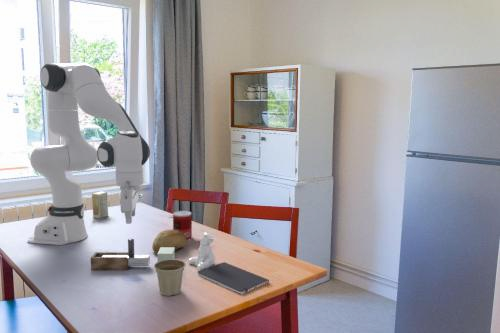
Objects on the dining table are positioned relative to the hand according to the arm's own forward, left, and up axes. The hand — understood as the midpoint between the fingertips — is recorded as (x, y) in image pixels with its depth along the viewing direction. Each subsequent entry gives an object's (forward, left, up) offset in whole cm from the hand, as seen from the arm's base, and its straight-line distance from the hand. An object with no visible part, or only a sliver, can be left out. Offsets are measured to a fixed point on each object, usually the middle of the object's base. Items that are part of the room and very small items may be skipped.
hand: (130, 219), depth 145 cm
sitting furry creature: (+25, +2, -18) cm, 30 cm away
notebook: (+35, -9, -18) cm, 40 cm away
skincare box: (-30, +65, -18) cm, 74 cm away
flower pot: (+16, -19, -18) cm, 30 cm away
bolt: (-2, 0, -16) cm, 16 cm away
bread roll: (+11, +18, -18) cm, 28 cm away
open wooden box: (-7, 0, -17) cm, 19 cm away
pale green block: (+11, 0, -17) cm, 21 cm away
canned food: (+14, +32, -18) cm, 39 cm away
